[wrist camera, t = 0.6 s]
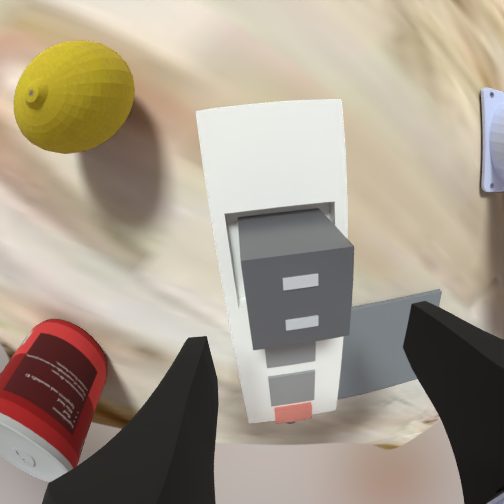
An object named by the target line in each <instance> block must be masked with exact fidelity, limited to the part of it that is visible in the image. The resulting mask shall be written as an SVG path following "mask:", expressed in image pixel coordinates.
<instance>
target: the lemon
mask: <svg viewBox="0 0 504 504" xmlns="http://www.w3.org/2000/svg"><path fill="white" fill-rule="evenodd" d="M134 91H135V88H134V82H133V76H132V74H131V72H130V69H129V67H128V65H127V63H126V62H125V61H124V60H123V59H122V58H121V56H120V55H119V54H118V53H117V52H115V51H114V50H112V49H110V48H108V47H107V46H105V45H103V44H100V43H95V42H90V41H82V40H81V41H70V42H63V43H60V44H58V45H55V46H53V47H50V48H48V49H46V50H45V51H43V52H42V53H41V54H39V55H38V56H37V57H35V58H34V59H33V60H32V62H31V63H30V64H29V65H28V66H27V67H26V69H25V70H24V72H23V74H22V75H21V77H20V79H19V82H18V85H17V87H16V90H15V96H14V114H15V118H16V122H17V125H18V126H19V128H20V130H21V132H22V134H23V135H24V136H25V137H26V138H27V139H28V140H29V141H30V142H31V143H33V144H34V145H36V146H38V147H40V148H42V149H44V150H47V151H52V152H57V153H63V154H68V153H77V152H84V151H87V150H89V149H92V148H94V147H97V146H99V145H101V144H102V143H104V142H105V141H107V140H108V139H109V138H111V137H112V136H114V134H115V133H116V132H117V131H118V130H119V129H120V128H121V127H122V126H123V124H124V122H125V121H126V119H127V117H128V115H129V114H130V111H131V108H132V105H133V102H134Z"/></svg>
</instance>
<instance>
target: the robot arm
mask: <svg viewBox="0 0 504 504" xmlns="http://www.w3.org/2000/svg"><path fill="white" fill-rule="evenodd" d="M490 94H491V97H490ZM481 103H482V124H483V161H482V182H481V188H482V190H483V191H485V192H504V92H502V91H498V90H494V89H490V88H482V89H481ZM490 184H491V187H490ZM403 349H404V351H405V354H406V356H407V359H408V361H409V363H410V366H411V368H412V370H413V372H414V373H415V375H416V377H417V378H418V380H419V382H420V383H421V385H422V387H423V388H424V390H425V392H426V393H427V395H428V397H429V399H430V400H431V402H432V404H433V405H434V407H435V409H436V411H437V412H438V414H439V416H440V418H441V420H442V423H443V425H444V428H445V430H446V433H447V435H448V438H449V440H450V443H451V446H452V449H453V452H454V455H455V459H456V462H457V467H458V470H459V475H460V479H461V484H462V490H463V496H464V503H465V504H504V340H503V339H500V338H498V337H496V336H494V335H492V334H489V333H487V332H485V331H483V330H481V329H479V328H477V327H475V326H473V325H471V324H470V323H468V322H466V321H464V320H462V319H460V318H458V317H456V316H455V315H453V314H451V313H449V312H447V311H445V310H443V309H442V308H440V307H438V306H436V305H434V304H431V303H429V302H427V301H422V302H417V303H413V304H411V309H410V314H409V320H408V325H407V330H406V335H405V339H404V344H403ZM217 416H218V382H217V376H216V372H215V368H214V364H213V360H212V356H211V352H210V348H209V344H208V340H207V336H203V337H192V338H188V339H187V340H186V342H185V343H184V345H183V347H182V349H181V350H180V352H179V354H178V355H177V357H176V359H175V361H174V362H173V364H172V365H171V367H170V369H169V370H168V372H167V373H166V375H165V376H164V378H163V379H162V381H161V382H160V384H159V385H158V387H157V388H156V389H155V391H154V392H153V393H152V395H151V396H150V397H149V399H148V400H147V402H146V403H145V404H144V405H143V407H142V408H141V409H140V410H139V411H138V413H137V414H136V415H135V416H134V417H133V418H132V419H131V420H130V421H129V423H128V424H127V425H126V426H125V427H124V428H123V429H122V430H121V431H120V432H119V433H118V434H117V435H116V436H115V437H114V438H112V439H111V440H110V441H109V442H108V443H107V444H106V445H105V446H104V447H102V448H101V449H100V450H98V451H97V452H96V453H95V454H93V455H92V456H91V457H89V458H88V459H87V460H85V461H84V462H82V463H81V464H80V465H78V466H77V467H75V468H73V469H72V470H70V471H68V472H67V473H65V474H63V475H62V476H60V477H58V478H57V479H55V480H53V481H51V482H49V484H48V486H47V490H46V492H45V495H44V499H43V502H42V504H215V491H214V490H215V489H214V452H215V440H216V428H217Z"/></svg>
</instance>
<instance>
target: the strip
mask: <svg viewBox="0 0 504 504" xmlns="http://www.w3.org/2000/svg"><path fill="white" fill-rule="evenodd" d="M196 118H197V126H198V133H199V141H200V148H201V155H202V162H203V169H204V176H205V183H206V190H207V196H208V203H209V210H210V216H211V222H212V229H213V235H214V241H215V247H216V253H217V259H218V265H219V271H220V277H221V282H222V288H223V294H224V299H225V305H226V310H227V316H228V321H229V327H230V332H231V337H232V343H233V348H234V353H235V358H236V363H237V368H238V373H239V378H240V383H241V388H242V393H243V398H244V402H245V407H246V412H247V417H248V421H249V424H250V423H259V422H267V421H275V420H276V424H279V423H288V424H292V423H294V422H295V421H299V420H305V419H310V418H312V415H313V414H319V413H324V412H329V411H334V410H336V405H337V397H338V389H339V380H340V370H341V360H342V349H343V337H344V336H343V337H338V338H333V339H327V340H321V341H315V342H309V343H303V344H296V345H290V346H283V347H276V348H268V349H261V350H253V346H252V339H251V332H250V325H249V318H248V311H247V304H246V297H245V290H244V282H243V275H242V268H241V260H240V246H239V231H238V217H244V216H252V215H260V214H269V213H277V212H286V211H295V210H305V209H314V208H319V209H320V210H321V211H322V212H323V213H324V214H325V215H326V217H327V218H328V219H329V220H330V221H331V222H332V223H333V224H334V225H335V226H336V227H337V228H338V229H339V230H340V231H341V233H342V234H343V235H344V236H345V237H346V238H347V239H348V214H347V173H346V152H345V136H344V122H343V110H342V99H321V100H295V101H279V102H266V103H255V104H245V105H236V106H228V107H220V108H213V109H206V110H199V111H196Z"/></svg>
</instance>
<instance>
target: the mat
mask: <svg viewBox="0 0 504 504" xmlns="http://www.w3.org/2000/svg"><path fill="white" fill-rule="evenodd" d="M441 293H442V291H441V290H440V289H438V290H434V291H429V292H425V293H420V294H416V295H411V296H406V297H401V298H396V299H392V300H386V301H381V302H376V303H371V304H365V305H360V306H354V307H351V320H350V332H349V336H344V337H343V349H342V360H341V370H340V380H339V389H338V397H337V400H338V399H343V398H347V397H352V396H356V395H360V394H364V393H368V392H372V391H376V390H380V389H384V388H388V387H391V386H395V385H398V384H402V383H405V382H408V381H412V380H415V379H418V378H417V377H416V375H415V373H414V372H413V370H412V368H411V366H410V363H409V361H408V359H407V356H406V354H405V351H404V349H403V344H404V339H405V335H406V330H407V325H408V320H409V314H410V309H411V304H413V303H417V302H422V301H427V302H429V303H431V304H434V305H436V306H438V307H439V303H440V298H441Z"/></svg>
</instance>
